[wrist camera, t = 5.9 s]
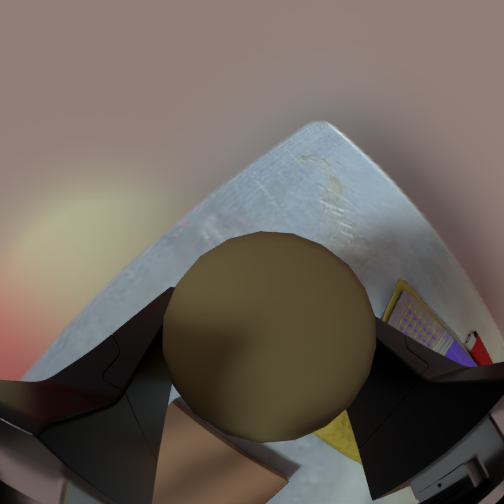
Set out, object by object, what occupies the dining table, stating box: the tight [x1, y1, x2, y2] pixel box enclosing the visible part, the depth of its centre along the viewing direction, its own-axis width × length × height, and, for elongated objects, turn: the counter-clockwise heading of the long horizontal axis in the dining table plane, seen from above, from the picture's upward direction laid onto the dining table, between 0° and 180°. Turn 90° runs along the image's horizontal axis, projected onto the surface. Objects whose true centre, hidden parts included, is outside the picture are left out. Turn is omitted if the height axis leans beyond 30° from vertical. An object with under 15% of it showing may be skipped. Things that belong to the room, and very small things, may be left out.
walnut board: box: [152, 399, 289, 504], centre depth 16 cm, size 12×12×2 cm
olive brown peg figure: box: [162, 231, 376, 443], centre depth 10 cm, size 6×6×11 cm
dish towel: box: [312, 280, 477, 487], centre depth 20 cm, size 18×24×3 cm
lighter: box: [464, 331, 493, 366], centre depth 24 cm, size 3×1×8 cm
